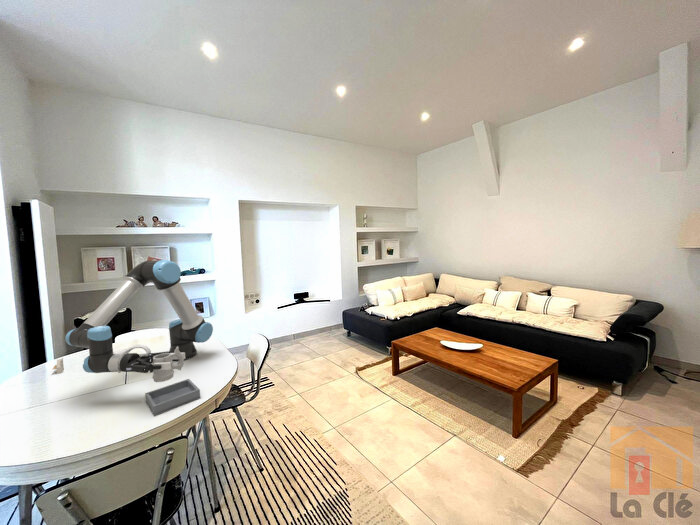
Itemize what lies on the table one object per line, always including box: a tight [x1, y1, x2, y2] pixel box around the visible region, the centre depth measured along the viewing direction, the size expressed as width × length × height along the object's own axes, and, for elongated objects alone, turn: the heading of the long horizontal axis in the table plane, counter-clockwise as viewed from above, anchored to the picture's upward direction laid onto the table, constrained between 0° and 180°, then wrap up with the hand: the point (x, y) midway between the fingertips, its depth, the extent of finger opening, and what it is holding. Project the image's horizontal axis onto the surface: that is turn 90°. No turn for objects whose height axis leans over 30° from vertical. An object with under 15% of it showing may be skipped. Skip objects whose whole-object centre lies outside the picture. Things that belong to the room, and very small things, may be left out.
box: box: [144, 378, 201, 417], centre depth 122 cm, size 17×15×4 cm
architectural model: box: [52, 357, 65, 375], centre depth 154 cm, size 3×7×7 cm, turn 38°
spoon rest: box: [113, 344, 152, 356], centre depth 171 cm, size 24×12×7 cm, turn 112°
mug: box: [151, 347, 185, 383], centre depth 120 cm, size 8×12×12 cm, turn 138°
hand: (177, 360), depth 120 cm, fingers closed on mug, 10 cm apart
